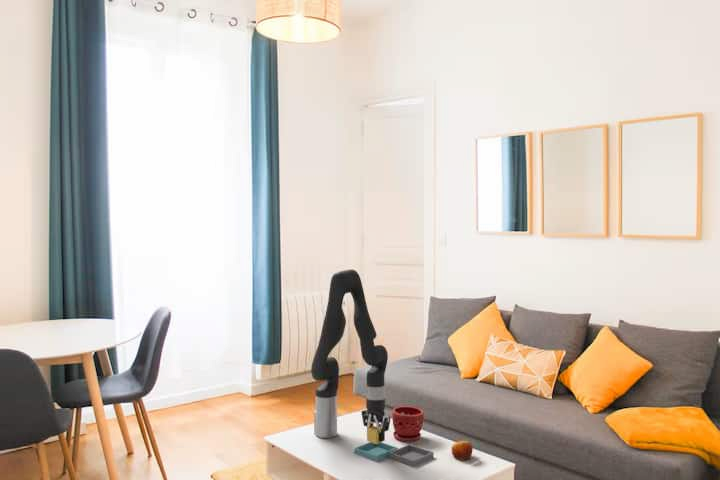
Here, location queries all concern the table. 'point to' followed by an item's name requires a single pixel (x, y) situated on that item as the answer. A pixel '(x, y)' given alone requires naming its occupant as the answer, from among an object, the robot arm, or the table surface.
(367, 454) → the tray
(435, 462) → the table surface
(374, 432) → the marked block
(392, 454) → the tray
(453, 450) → the fruit
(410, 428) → the plant pot
